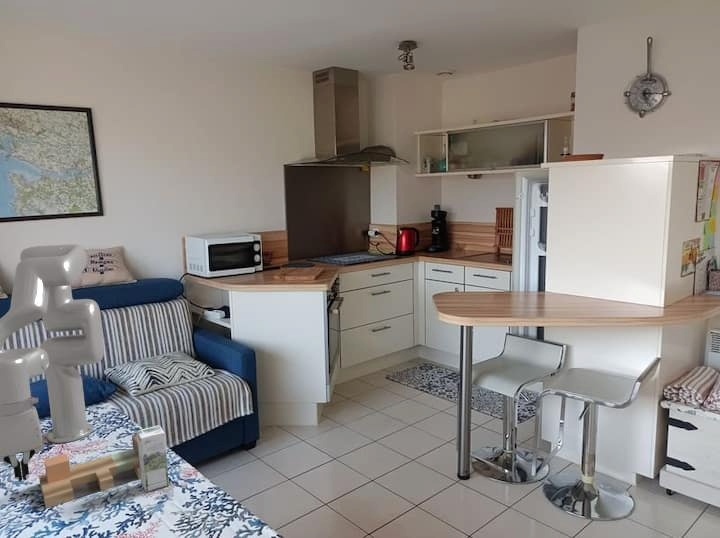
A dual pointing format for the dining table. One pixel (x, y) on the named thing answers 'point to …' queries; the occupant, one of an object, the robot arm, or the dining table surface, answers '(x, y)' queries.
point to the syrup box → (152, 458)
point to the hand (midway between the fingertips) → (22, 478)
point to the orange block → (57, 468)
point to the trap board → (93, 477)
